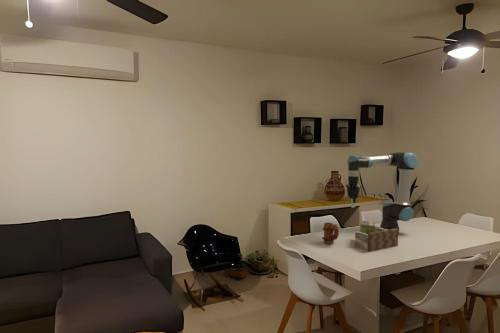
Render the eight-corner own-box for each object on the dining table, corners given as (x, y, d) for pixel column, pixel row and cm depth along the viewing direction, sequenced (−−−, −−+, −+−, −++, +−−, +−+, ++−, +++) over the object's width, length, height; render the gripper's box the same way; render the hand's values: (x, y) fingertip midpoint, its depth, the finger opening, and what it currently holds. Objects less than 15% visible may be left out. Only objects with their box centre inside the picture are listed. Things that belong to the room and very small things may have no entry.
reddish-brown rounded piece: (320, 241, 254) (320, 221, 253) (329, 240, 257) (329, 220, 256) (332, 247, 240) (332, 225, 239) (341, 246, 244) (342, 224, 243)
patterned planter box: (381, 240, 257) (381, 224, 256) (397, 245, 244) (398, 229, 243) (353, 246, 243) (353, 229, 242) (369, 251, 231) (370, 234, 230)
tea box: (374, 246, 243) (375, 225, 242) (359, 244, 247) (360, 224, 246) (374, 240, 258) (374, 220, 257) (359, 239, 261) (360, 219, 260)
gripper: (343, 175, 264) (342, 206, 265) (356, 176, 252) (355, 209, 254) (350, 175, 267) (350, 205, 269) (363, 176, 256) (363, 208, 258)
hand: (352, 207), depth 262 cm, fingers closed
